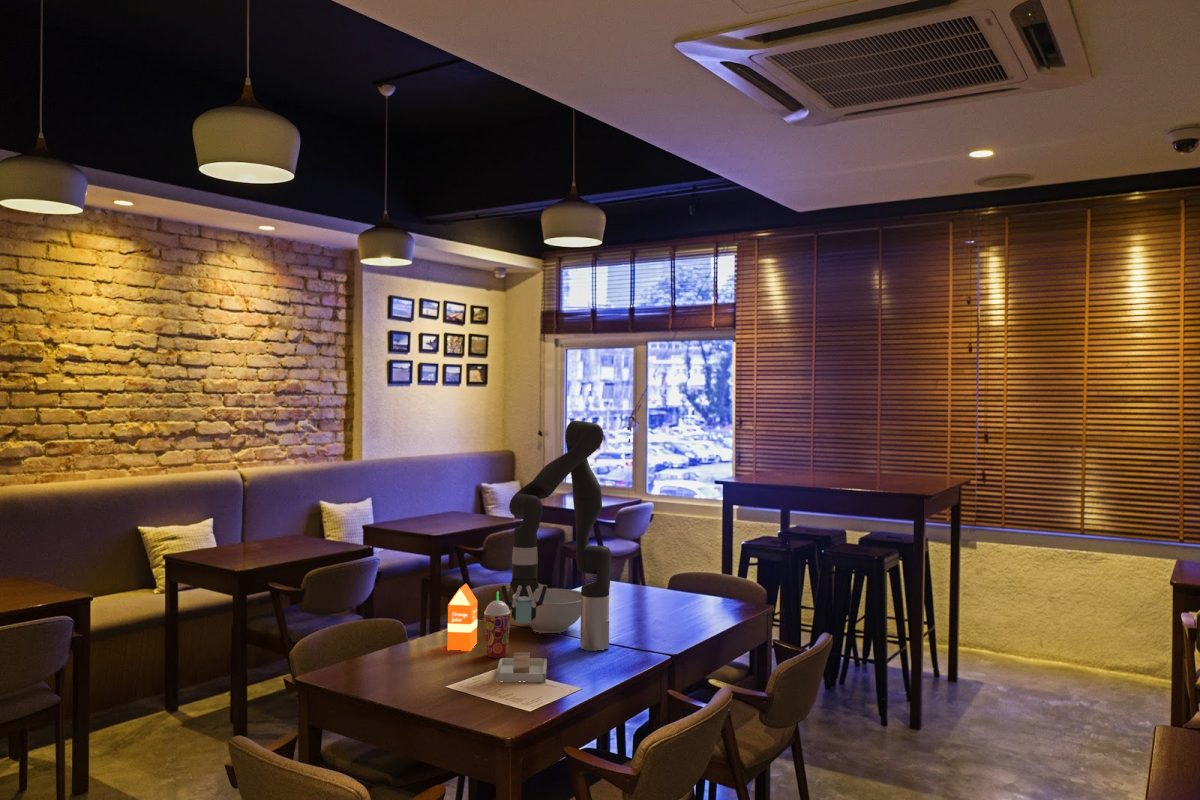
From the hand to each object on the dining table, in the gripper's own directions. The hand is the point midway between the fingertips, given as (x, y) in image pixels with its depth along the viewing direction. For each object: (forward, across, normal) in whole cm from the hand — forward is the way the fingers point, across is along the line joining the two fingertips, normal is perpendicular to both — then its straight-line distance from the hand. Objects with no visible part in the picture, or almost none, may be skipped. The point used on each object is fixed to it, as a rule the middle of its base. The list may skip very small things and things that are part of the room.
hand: (523, 619), depth 261 cm
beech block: (+14, 0, -8) cm, 16 cm away
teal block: (+1, 0, 0) cm, 1 cm away
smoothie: (+15, -9, +16) cm, 24 cm away
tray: (+15, 0, -4) cm, 16 cm away
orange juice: (+15, -21, +26) cm, 37 cm away
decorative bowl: (+15, +7, +50) cm, 53 cm away
